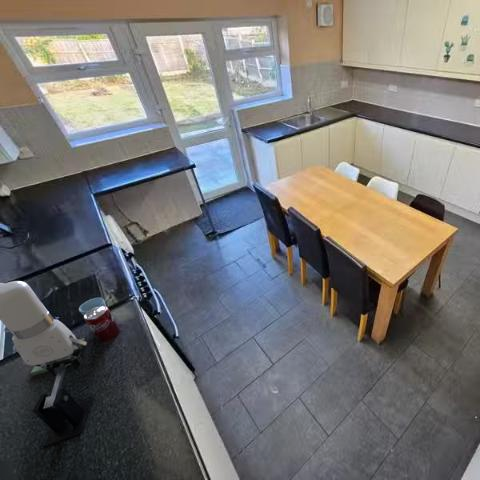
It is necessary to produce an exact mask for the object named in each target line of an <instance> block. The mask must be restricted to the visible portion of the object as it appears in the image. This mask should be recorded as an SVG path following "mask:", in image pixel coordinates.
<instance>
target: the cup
mask: <svg viewBox="0 0 480 480" xmlns="http://www.w3.org/2000/svg"><path fill="white" fill-rule="evenodd" d="M98 306H106V307H107V304H106V302H105V299H104V298H103V297H94V298H90V299H89V300H86V301H84V302H83V303H82V304H81V305H80V306H79V307H78V311H79V312H80V313H81V314H82V316H83V317H84V316H85V314H86V313H87V312H88V311H89V310H91V309H93V308H95V307H98Z"/></svg>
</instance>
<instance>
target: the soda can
mask: <svg viewBox="0 0 480 480" xmlns="http://www.w3.org/2000/svg"><path fill="white" fill-rule="evenodd" d="M83 321H84V322H85V324H86V325H87V327H88V329H90V332H91V333H92V334H93V335H94V337H95V338H96V340H97V341H98V343H99V342H100V343H106V342H108V341H111V340H113V339H114V338H116V337H117V336H118V335H119V334H121V331H122V329H121V328H120V326H119V324H118V322H117V321H116V319H115V317H114V315H113V314H112V312H111V310H110V308H109V307H108V306H107V305H106V306H98V307H95V308H93V309H91V310H89V311H88V312H87V313H86V314H85V316H84V315H83Z"/></svg>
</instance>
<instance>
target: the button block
mask: <svg viewBox="0 0 480 480" xmlns="http://www.w3.org/2000/svg"><path fill="white" fill-rule="evenodd" d="M78 340H82V341H85V342H87V343H89V342H88V340H87V338H85V337H83V338H80V339H78ZM73 346H74V345H73ZM74 347H75V348H77V346H74ZM82 352H83V350H82V351H81V352H80V353H79V355H80V356H81V354H82ZM72 354H73V353H72ZM65 359H69V358H68V357H63V358H60V359H56V361H57V362H58V361H62V360H65ZM71 365H72V364H71V363H70V364H67V365H66V367H67V366H71ZM47 372H48V370H47V369H42V368H41V367H39V366H33V367H32V370H31V372H30V375H31V376H36V375H40V374H43V373H47Z"/></svg>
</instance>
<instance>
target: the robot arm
mask: <svg viewBox="0 0 480 480" xmlns="http://www.w3.org/2000/svg"><path fill="white" fill-rule="evenodd" d="M0 322H1V323H2V324H3V325H4V326H5V328H4V329H3V331H4V333H7V334H8V333H11V334H12V338H11V339H12V343H13V345H14V348H15V350H16V352H17V353H18V354H19V356H20V357H21V358H22V361H21V364H22V365H26V366H27V365H28V366H31V367H34V366H39V367H41V368H42V369H47V370H48V371H47V372H48V373H49V374H50V375H51V376H52V377H53V378H56V377H57V373H58V370H59V367H56V368H54V367H53V364H54V363H55V362H57V361H56V359H60V358H63V357H68V358H69V359H71V360H70V363H71V364H70V365H71V366H72V368H74V370H76V371H79V370H81V367H82V365H83V363H84V360H83V358H82V357H81V355H79V353H80V352H81V351H82V352H83V350H84V349H85V348H86V347H87V345H88V342H85V341H82V340H79V339H78V338H77V337H76V336H75V334H74V333H73V332H72V331H71V330H70V328H69V327H67V326H66V325H65V324H64V323H63V322H62V321H60V320H58V319H56V318H55V319H54V317H53V316H52V315H51V313H50V311H48V309H47V308H46V307H45V306H44V304H43V302H42V301H41V300H40V299H39V297H38V296H37V294H36V293H35V292H34V290H33V289H32V288H31V286H30V285H29V284H28V283H27V282H25V281H21V280H13V281H8V282H0ZM73 345H74V346H77V348H75V347H74V346H73ZM82 352H81V353H82ZM72 353H73V354H72Z"/></svg>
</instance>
